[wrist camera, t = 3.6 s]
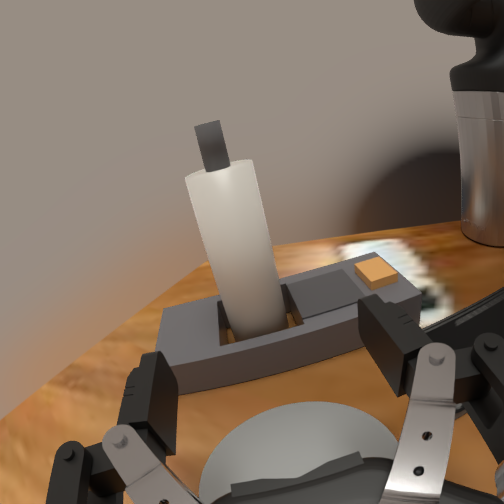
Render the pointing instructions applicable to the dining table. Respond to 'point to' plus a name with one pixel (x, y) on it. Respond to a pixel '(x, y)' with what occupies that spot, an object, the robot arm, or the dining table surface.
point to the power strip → (286, 341)
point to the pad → (292, 444)
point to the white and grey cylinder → (236, 238)
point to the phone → (470, 326)
